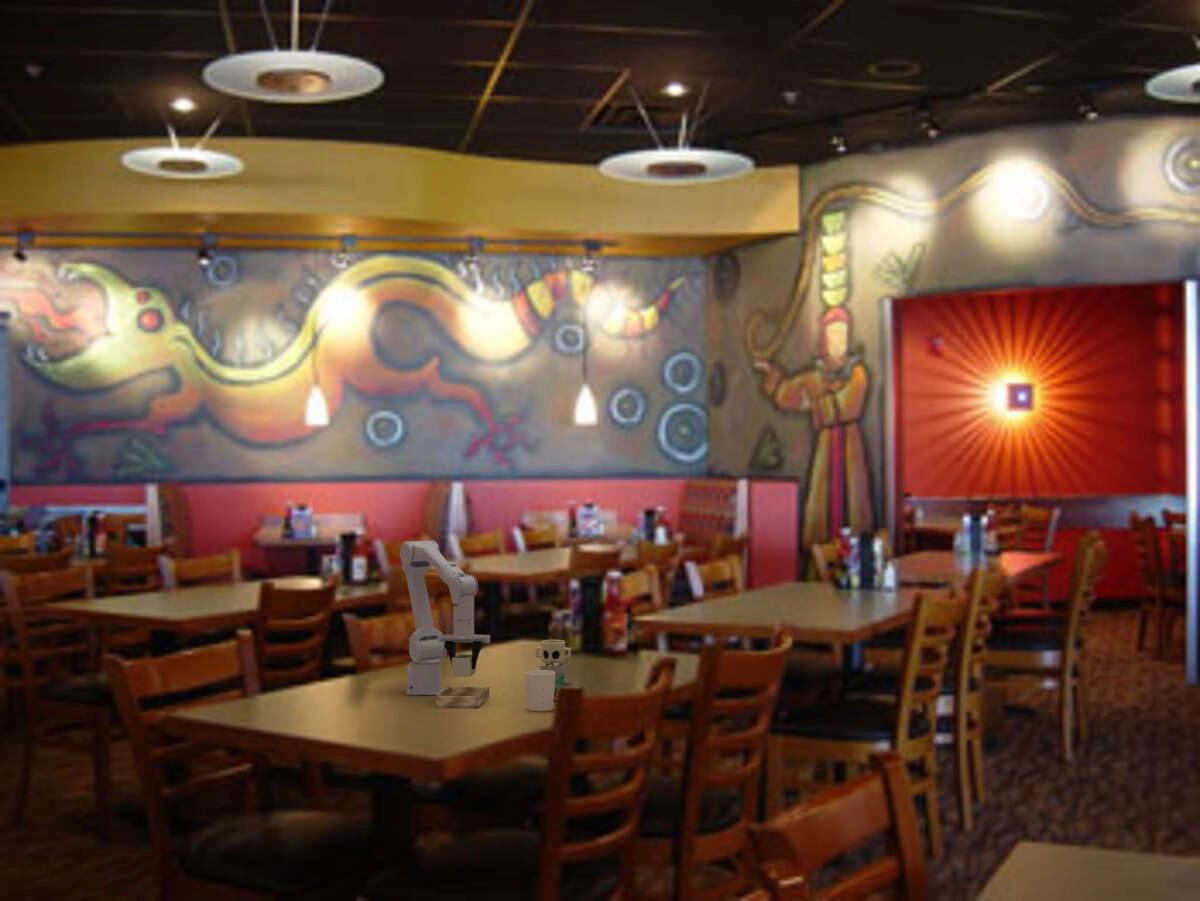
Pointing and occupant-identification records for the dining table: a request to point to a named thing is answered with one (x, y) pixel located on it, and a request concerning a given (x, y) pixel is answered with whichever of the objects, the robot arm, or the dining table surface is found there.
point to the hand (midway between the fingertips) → (463, 668)
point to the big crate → (462, 697)
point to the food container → (556, 673)
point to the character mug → (553, 651)
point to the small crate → (462, 665)
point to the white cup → (540, 690)
